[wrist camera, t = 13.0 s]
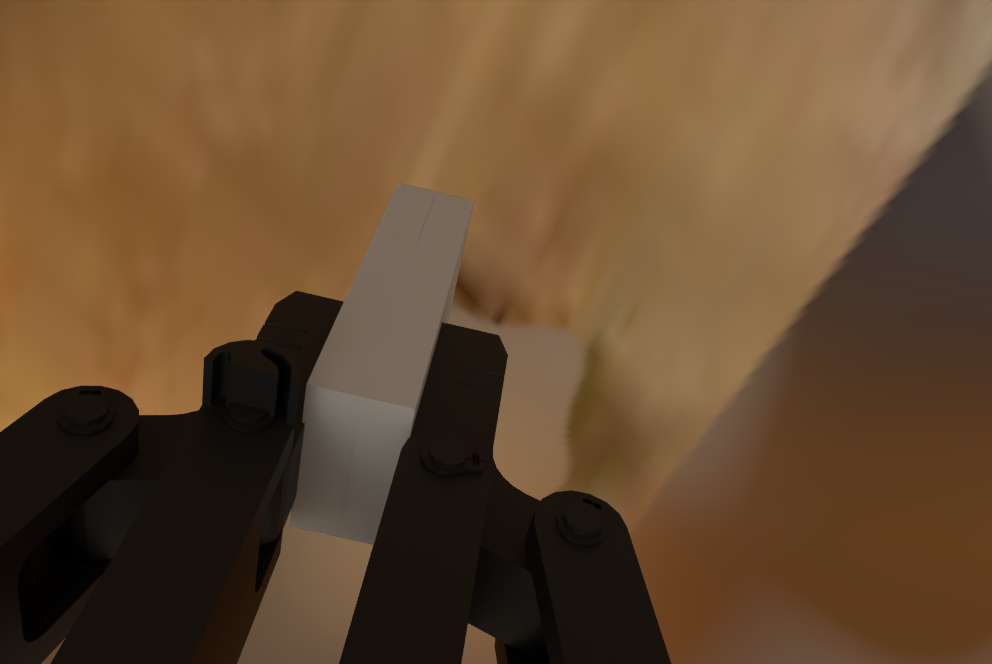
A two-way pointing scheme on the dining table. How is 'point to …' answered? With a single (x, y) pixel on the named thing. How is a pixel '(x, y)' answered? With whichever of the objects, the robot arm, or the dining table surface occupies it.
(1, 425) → the dining table surface
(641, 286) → the dining table surface
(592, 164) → the dining table surface
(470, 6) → the dining table surface
